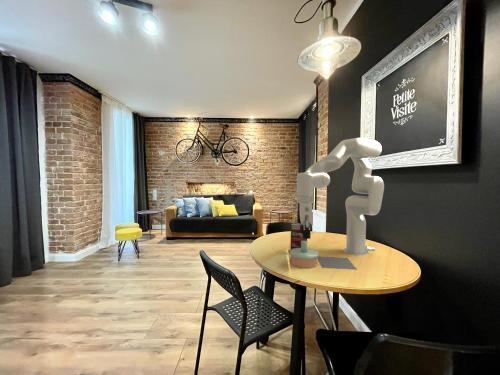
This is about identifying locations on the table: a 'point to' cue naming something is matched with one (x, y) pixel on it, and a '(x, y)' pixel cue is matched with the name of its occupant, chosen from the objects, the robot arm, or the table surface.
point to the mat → (336, 263)
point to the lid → (304, 252)
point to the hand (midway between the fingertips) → (305, 235)
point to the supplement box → (296, 236)
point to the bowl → (304, 262)
